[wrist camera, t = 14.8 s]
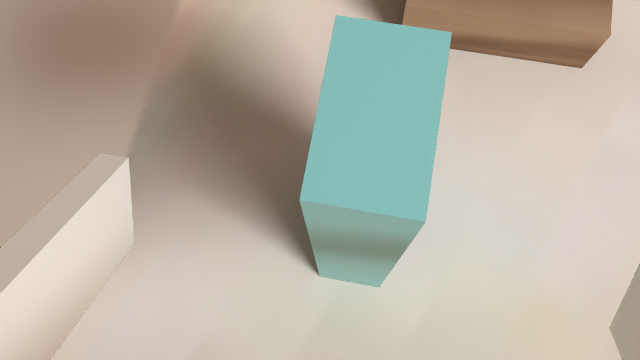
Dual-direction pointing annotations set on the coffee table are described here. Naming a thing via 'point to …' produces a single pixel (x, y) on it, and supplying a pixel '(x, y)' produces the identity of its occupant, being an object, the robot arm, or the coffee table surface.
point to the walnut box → (518, 27)
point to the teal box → (373, 146)
